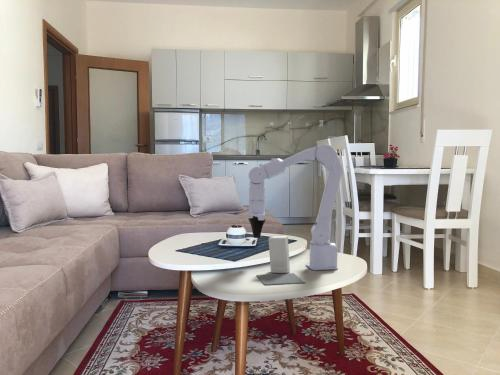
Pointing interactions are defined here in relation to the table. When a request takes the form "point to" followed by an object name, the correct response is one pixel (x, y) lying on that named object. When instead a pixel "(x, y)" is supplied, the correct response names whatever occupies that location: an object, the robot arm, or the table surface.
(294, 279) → the mat
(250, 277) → the table surface
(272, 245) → the skincare box
